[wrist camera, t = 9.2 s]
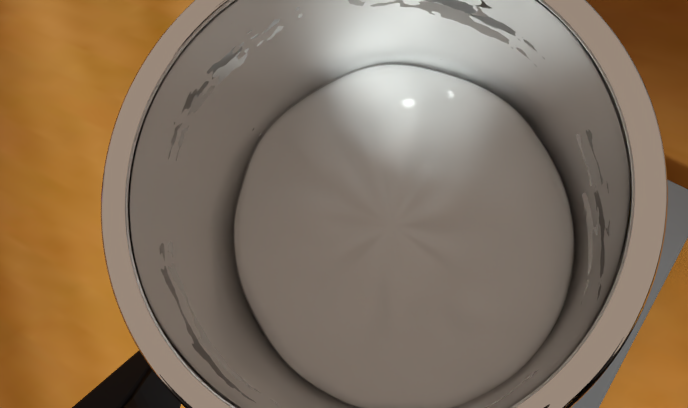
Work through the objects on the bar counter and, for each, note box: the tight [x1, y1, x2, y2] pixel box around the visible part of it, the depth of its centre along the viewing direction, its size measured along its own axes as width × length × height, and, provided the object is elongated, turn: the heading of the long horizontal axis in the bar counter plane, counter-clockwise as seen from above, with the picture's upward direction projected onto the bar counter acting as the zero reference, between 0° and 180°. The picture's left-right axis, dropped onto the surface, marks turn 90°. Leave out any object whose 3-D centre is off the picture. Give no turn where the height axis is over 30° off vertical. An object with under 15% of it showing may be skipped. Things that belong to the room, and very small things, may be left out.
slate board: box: [571, 180, 688, 408], centre depth 21 cm, size 14×14×1 cm
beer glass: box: [101, 0, 668, 408], centre depth 14 cm, size 7×7×15 cm
